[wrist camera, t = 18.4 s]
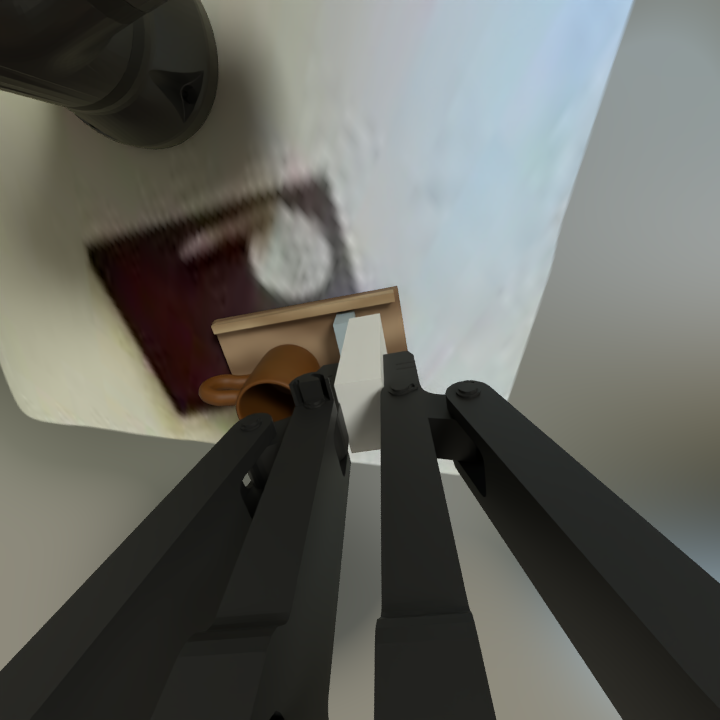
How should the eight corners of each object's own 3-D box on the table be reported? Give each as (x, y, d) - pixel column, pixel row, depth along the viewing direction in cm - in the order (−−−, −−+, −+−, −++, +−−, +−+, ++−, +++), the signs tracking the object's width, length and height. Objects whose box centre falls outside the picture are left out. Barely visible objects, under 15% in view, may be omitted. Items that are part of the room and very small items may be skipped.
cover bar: (336, 313, 41) (332, 324, 38) (354, 310, 41) (351, 321, 37) (357, 402, 46) (356, 420, 42) (373, 399, 46) (372, 417, 42)
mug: (225, 386, 46) (191, 430, 38) (225, 330, 43) (188, 365, 34) (319, 400, 46) (305, 448, 38) (325, 347, 43) (313, 385, 35)
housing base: (216, 319, 44) (206, 326, 41) (397, 286, 41) (398, 291, 39) (255, 421, 50) (249, 433, 47) (414, 398, 47) (416, 409, 45)
